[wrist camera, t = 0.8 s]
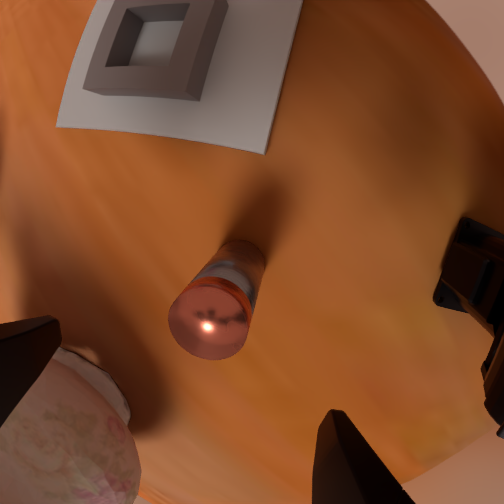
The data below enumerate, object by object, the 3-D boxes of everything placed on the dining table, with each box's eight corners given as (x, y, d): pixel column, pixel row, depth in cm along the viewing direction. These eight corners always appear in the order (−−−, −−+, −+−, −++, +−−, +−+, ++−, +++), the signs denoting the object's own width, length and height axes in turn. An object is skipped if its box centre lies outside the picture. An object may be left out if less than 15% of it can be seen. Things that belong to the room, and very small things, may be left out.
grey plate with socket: (304, -3, 13) (305, -32, 10) (265, 155, 17) (259, 150, 13) (106, -2, 14) (84, -18, 11) (64, 127, 17) (33, 125, 14)
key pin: (270, 246, 18) (256, 302, 10) (258, 292, 19) (238, 368, 11) (220, 234, 18) (172, 279, 11) (211, 280, 19) (165, 346, 11)
